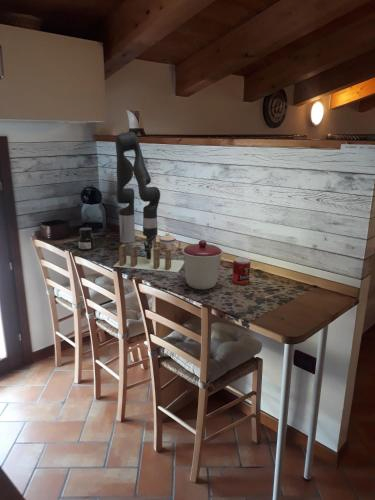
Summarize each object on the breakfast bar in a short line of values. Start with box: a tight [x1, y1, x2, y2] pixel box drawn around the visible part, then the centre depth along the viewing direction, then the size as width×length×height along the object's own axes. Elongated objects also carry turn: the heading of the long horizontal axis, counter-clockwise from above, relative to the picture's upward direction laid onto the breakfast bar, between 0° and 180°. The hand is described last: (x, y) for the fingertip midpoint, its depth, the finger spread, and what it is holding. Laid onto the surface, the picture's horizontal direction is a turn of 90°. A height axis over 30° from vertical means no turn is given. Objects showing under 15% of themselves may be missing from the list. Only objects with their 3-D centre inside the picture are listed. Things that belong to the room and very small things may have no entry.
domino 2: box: [129, 244, 138, 267], centre depth 197 cm, size 5×2×10 cm, turn 168°
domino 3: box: [147, 245, 153, 263], centre depth 204 cm, size 5×2×10 cm, turn 168°
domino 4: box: [153, 246, 161, 269], centre depth 195 cm, size 5×2×10 cm, turn 168°
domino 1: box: [118, 243, 127, 266], centre depth 198 cm, size 5×2×10 cm, turn 168°
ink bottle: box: [77, 227, 95, 252], centre depth 225 cm, size 10×9×12 cm
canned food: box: [232, 256, 251, 286], centre depth 179 cm, size 8×8×11 cm
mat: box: [113, 255, 184, 273], centre depth 202 cm, size 18×34×1 cm, turn 78°
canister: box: [181, 239, 224, 290], centre depth 172 cm, size 18×18×21 cm
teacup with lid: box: [159, 233, 178, 256], centre depth 219 cm, size 12×9×12 cm
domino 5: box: [164, 248, 172, 270], centre depth 194 cm, size 5×2×10 cm, turn 168°
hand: (150, 257), depth 205 cm, fingers closed on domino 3, 5 cm apart
